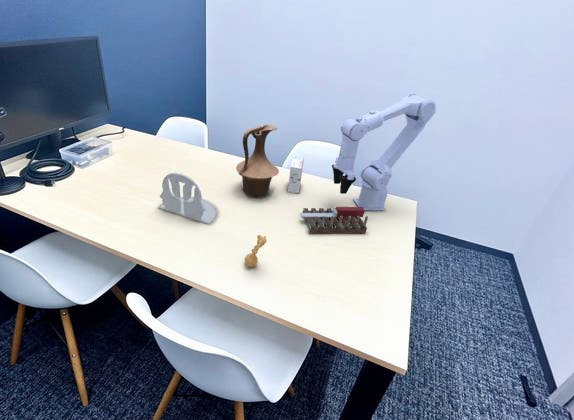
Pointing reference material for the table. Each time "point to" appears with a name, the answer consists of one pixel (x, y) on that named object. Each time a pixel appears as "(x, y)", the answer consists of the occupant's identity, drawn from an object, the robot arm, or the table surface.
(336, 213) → the knife
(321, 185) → the table surface
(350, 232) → the drying rack
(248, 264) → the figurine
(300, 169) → the ink cartridge box
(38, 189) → the table surface
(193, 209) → the ornament
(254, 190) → the pitcher
